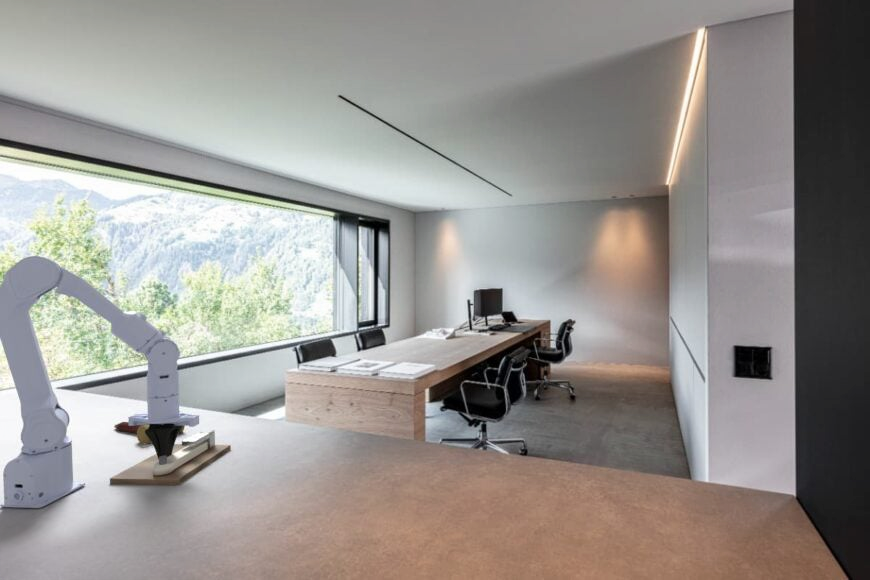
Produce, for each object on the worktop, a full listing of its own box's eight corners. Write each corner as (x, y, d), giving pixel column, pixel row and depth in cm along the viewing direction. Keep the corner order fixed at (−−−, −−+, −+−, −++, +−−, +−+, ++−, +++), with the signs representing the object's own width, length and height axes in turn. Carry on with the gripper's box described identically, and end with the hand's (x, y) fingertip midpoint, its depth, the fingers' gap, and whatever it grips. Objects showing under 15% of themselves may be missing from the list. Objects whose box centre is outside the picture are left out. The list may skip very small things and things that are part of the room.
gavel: (94, 423, 120) (133, 412, 129) (96, 440, 120) (134, 429, 129) (147, 426, 112) (184, 415, 121) (149, 445, 112) (186, 432, 121)
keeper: (195, 457, 100) (194, 441, 100) (182, 457, 100) (181, 441, 100) (215, 445, 107) (214, 430, 107) (202, 445, 108) (202, 430, 107)
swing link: (165, 476, 90) (165, 460, 90) (148, 476, 90) (148, 459, 90) (208, 449, 104) (208, 435, 104) (194, 449, 105) (193, 435, 104)
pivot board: (177, 485, 88) (177, 480, 88) (109, 483, 90) (109, 478, 90) (230, 449, 107) (230, 445, 107) (174, 448, 109) (174, 444, 109)
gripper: (207, 390, 100) (208, 452, 100) (145, 390, 101) (146, 451, 101) (186, 398, 93) (188, 465, 93) (119, 398, 94) (121, 464, 94)
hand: (165, 459), depth 97 cm, fingers closed
